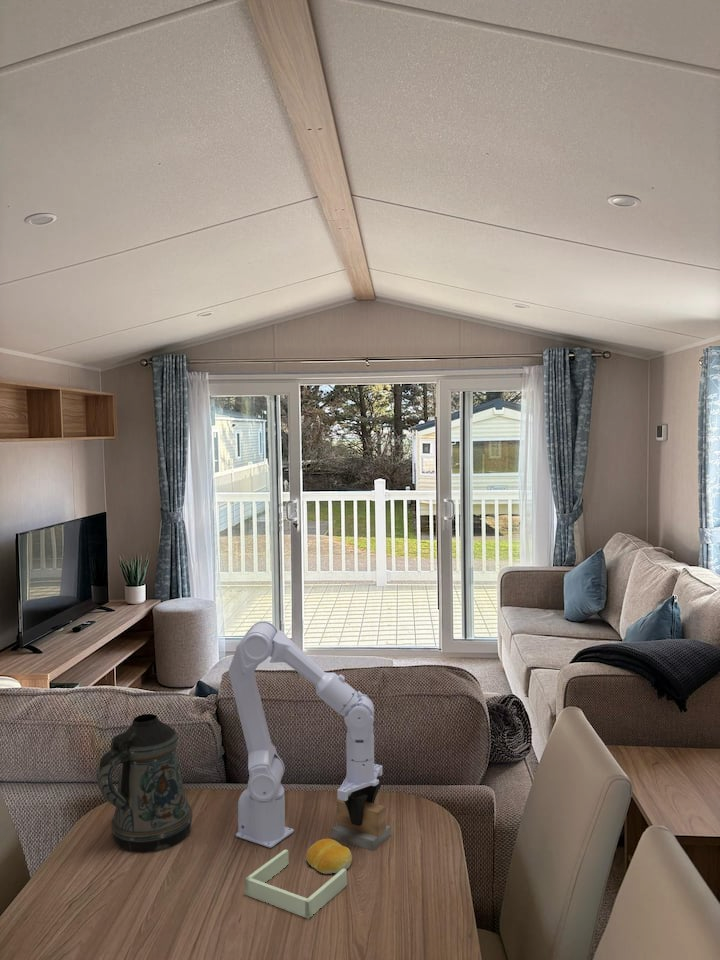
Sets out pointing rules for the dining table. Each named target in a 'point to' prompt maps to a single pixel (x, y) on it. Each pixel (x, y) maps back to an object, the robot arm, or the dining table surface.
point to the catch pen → (286, 899)
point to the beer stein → (146, 787)
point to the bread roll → (329, 856)
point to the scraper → (362, 826)
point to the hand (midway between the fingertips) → (361, 820)
